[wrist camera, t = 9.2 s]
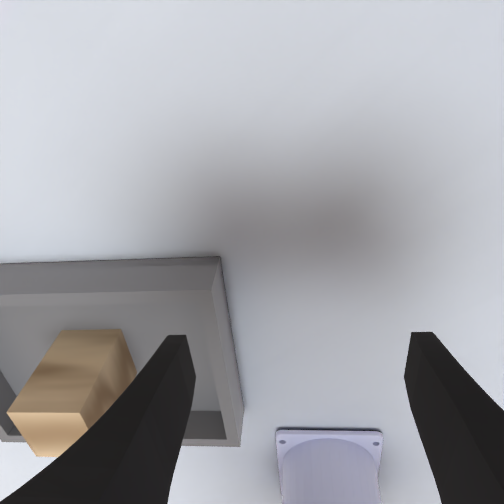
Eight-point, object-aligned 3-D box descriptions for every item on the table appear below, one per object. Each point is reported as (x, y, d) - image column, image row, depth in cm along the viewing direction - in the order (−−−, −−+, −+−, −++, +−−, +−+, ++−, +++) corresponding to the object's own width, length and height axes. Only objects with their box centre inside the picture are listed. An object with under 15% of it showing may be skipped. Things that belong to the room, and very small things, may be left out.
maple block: (137, 372, 27) (103, 457, 22) (81, 372, 28) (36, 456, 23) (121, 329, 25) (79, 412, 20) (61, 330, 26) (6, 412, 21)
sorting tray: (244, 408, 30) (239, 446, 27) (24, 406, 32) (2, 441, 29) (219, 256, 23) (211, 289, 20) (-63, 266, 25) (-103, 297, 22)
